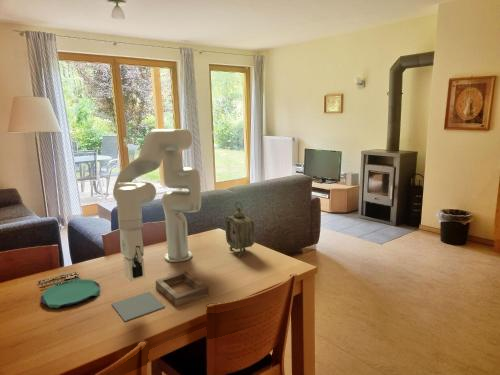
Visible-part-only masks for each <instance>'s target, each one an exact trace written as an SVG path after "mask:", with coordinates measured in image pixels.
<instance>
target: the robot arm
mask: <svg viewBox="0 0 500 375" xmlns="http://www.w3.org/2000/svg"><path fill="white" fill-rule="evenodd" d="M143 140H144V141H143V143H142V146H141V148H140V151H139V155H138V157H137V158H135V159H133V160H132V161H131V162H129V163H128V164H127V165H126V166H124V167H123V168H122V169H121V170H120V172H119V173H118V175H117V177H116V180H115V183H114V186H113V188H112V189H113V190H112V192H113V194H112V196H113V198H114V200H115V202H116V210H117V220H118V229H119V239H120V240H119V242H120V243H119V244H120V246H119V247H120V253H121V254H122V255H123V257H127V258H128V259H130V260H132V263H133V267H132V272H133V278H137V277H141V276H143V271H142V261H143V259H144V255H145V252H144V249H145V248H144V243H143V242H144V241H143V235H142V228H143V226H144V225H143V215H142V214H143V213H142V205H147V204H151V202H153V201H154V199H155V198H156V196H157V189H156V187H155V185H154V184H152V183H151V182H148V181H134V180H135V179H137V178H139V177H141V176H143V175H146V174H149V173H151V172H154V171H155V170H158V169H159V168H160V167H161V165H162V169H163V182H164V186H165V187H166V188H169V189H173V190H172V191H171V190H169V191H166V192H165V193H163V195H162V196H161V204H162V208H163V212H164V219H165V220H164V221H165V232H166V235H165V236H166V246H167V247H166V249H167V253H165V254H164V260H165V261H167V262H171V263H181V262H185V261H188V260H190V259H191V258H193V253H192V252H191V251H190V250H189V240H188V238H189V237H188V236H189V235H188V221H187V218H186V216H185V215H184V213H197V212H199V211H200V210H201V206H202V197H201V196H202V194H201V193H202V192H201V191H202V190H201V177H200V172H199V170H198V169H197V168H195V167H192V166H191V167H185V166H184V165H183V156H182V154H181V152H180V151H185V150H189V149H190V148H191V146H192V143H193V135H192V133H191V131H190V130H188V129H186V128H156V129H151V130H149V131H148V132H147V134H146V136H145V138H144V139H143ZM174 189H179V190H174ZM181 189H184V190H185V191H183V190H181ZM136 255H137V257H134V256H136ZM142 257H143V258H142ZM135 259H137V261H136V262H135Z"/></svg>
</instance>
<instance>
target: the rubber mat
mask: <svg viewBox="0 0 500 375" xmlns="http://www.w3.org/2000/svg"><path fill="white" fill-rule="evenodd" d="M111 306H112V307H113V308H114V310H115V311H116V312H117V313H118V315H119V316H120V318H121V319H122V320H123V321H124V323H126V322H129V321H131V320H134V319H137V318H140V317H143V316H145V315H148V314H151V313H153V312H156V311H159V310H162V309H164V308H166V306H165V304H163V303H162V302H161V301H160V300H159V299H158V298H157V297H156V296H155V295H154V294H153V293H152V292H151V291H146V292H142V293H140V294H136V295H134V296H131V297H130V296H129V297H127V298H125V299H122V300H118V301H115V302H112V303H111Z"/></svg>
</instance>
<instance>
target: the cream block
mask: <svg viewBox="0 0 500 375" xmlns="http://www.w3.org/2000/svg"><path fill="white" fill-rule="evenodd" d="M134 257H137V255H136V256H134ZM142 258H143V261H142V271H143V276H141V277H137V278H133V272H132V267H133V263H132V260H130V259H128V258H127V257H125V256H123V263H124V264H123V266H124V275H125V277H126V279H128V280H129V281H130V282H132V281H135V280H139V279H143V278H145V277H146V274H145V263H144V262H145V261H144V260H145V259H144V256H143V257H142ZM136 261H137V259H135V262H136Z"/></svg>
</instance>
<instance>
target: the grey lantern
mask: <svg viewBox="0 0 500 375" xmlns="http://www.w3.org/2000/svg"><path fill="white" fill-rule="evenodd" d="M238 204H239V206H240V207H237V205H238ZM234 205H235V209H236V210H237V211H235V212H234V214H233V215H229V216H225V222H224V223H225V227H224V229H225V238H226V239H225V240H226V242H227V244H228V245H229V250H233V249H234V250H239V254H238V257H239V258H241V257H242V256H243V254H242V252H246V251H247V250H246V248H251V247H252V246H253V245H254V244H255V241H256V240H255V234H256V233H255V222H254V220H253V219H252V218H250V217H249V216H246V215H245V213H244V212H243V205H242V203H241V202H240V201H236V202H235V204H234Z"/></svg>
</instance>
